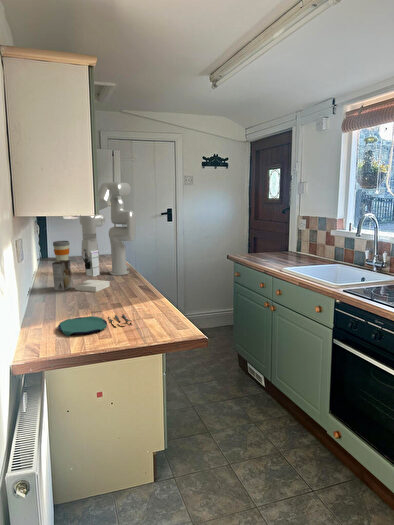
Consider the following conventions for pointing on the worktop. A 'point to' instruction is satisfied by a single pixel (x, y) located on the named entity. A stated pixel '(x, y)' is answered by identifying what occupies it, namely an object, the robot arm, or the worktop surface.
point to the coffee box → (62, 275)
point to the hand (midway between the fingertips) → (91, 267)
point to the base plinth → (92, 285)
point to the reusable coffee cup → (61, 250)
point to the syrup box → (93, 264)
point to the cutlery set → (83, 325)
